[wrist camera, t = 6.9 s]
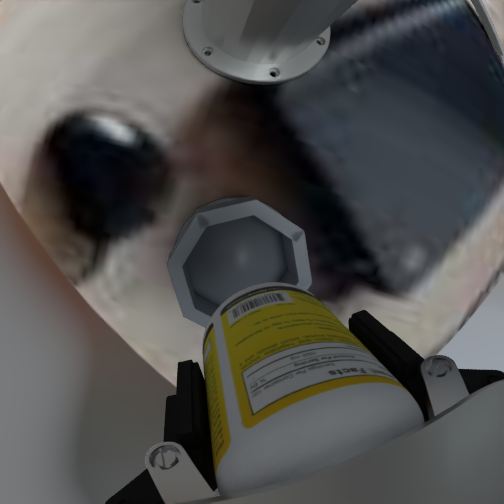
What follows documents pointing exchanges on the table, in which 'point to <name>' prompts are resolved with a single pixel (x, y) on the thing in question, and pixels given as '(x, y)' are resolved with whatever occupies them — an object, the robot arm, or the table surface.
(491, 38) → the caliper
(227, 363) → the pill bottle
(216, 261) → the socket cup
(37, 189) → the table surface
